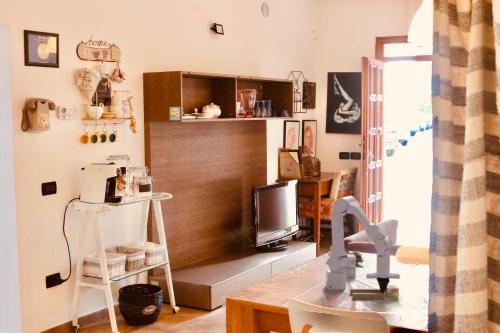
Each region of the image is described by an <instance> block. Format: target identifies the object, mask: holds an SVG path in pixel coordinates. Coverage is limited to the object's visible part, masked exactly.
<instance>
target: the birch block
mask: <svg viewBox="0 0 500 333" xmlns="http://www.w3.org/2000/svg"><path fill="white" fill-rule="evenodd" d="M399 295H400V288H399V287H398V285H396V284H392V285H391V284H388V285H387V287H386V290H385V296H386V297H387V298H399Z"/></svg>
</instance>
